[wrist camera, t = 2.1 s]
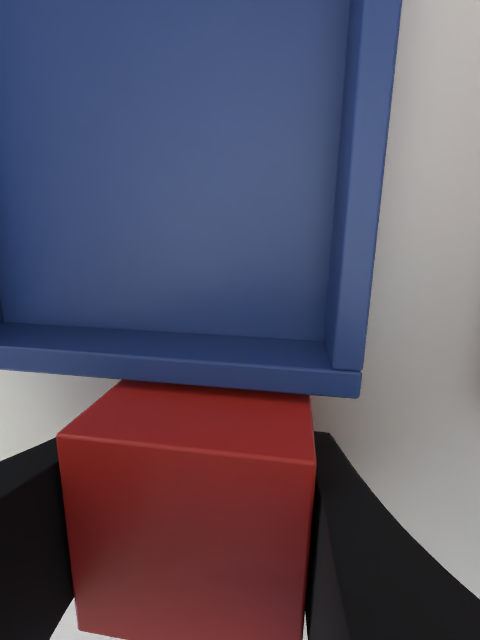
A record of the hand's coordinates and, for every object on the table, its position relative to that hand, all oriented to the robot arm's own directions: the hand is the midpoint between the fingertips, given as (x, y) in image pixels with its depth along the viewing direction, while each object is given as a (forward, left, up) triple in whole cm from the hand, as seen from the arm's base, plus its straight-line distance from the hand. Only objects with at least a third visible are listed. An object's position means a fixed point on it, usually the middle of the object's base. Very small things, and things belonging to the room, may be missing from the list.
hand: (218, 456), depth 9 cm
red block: (0, 0, -1) cm, 1 cm away
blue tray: (+8, +2, -1) cm, 8 cm away
